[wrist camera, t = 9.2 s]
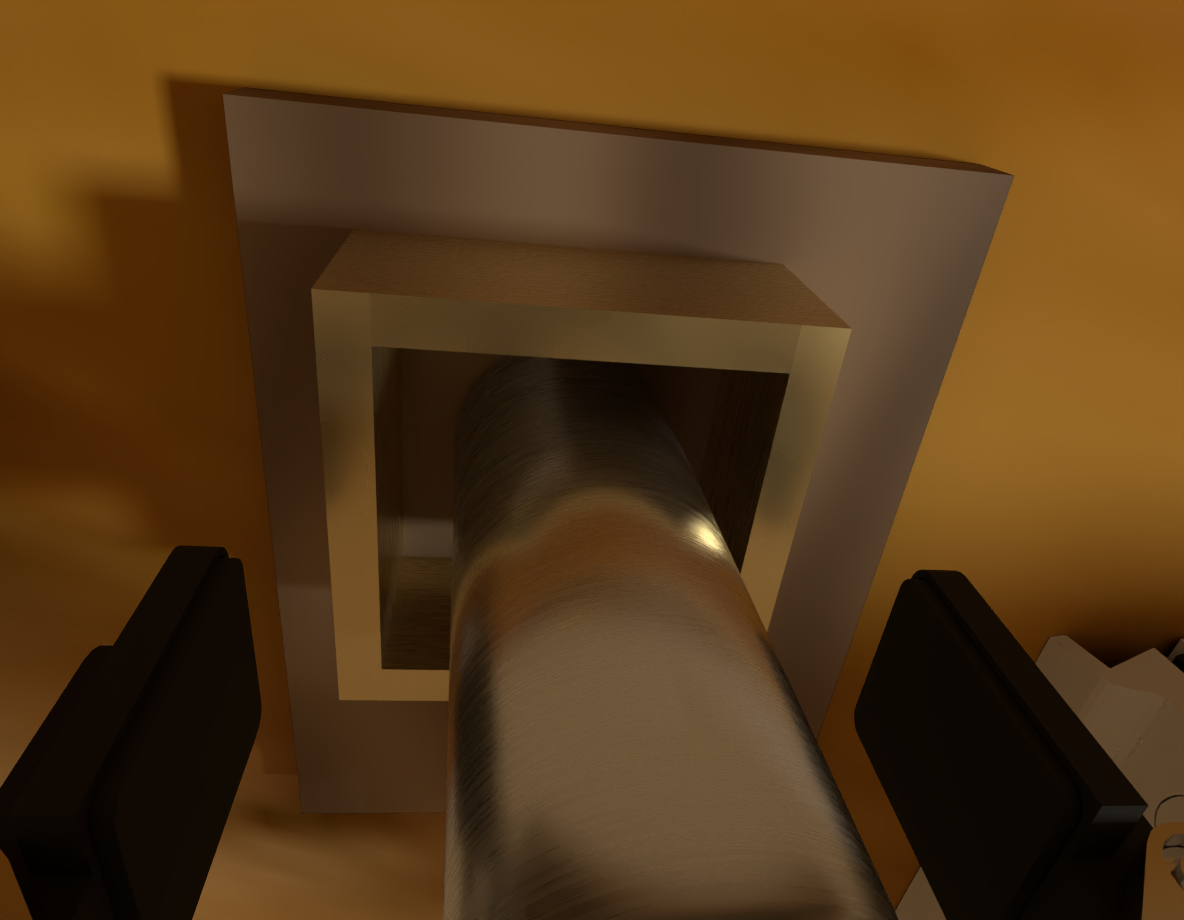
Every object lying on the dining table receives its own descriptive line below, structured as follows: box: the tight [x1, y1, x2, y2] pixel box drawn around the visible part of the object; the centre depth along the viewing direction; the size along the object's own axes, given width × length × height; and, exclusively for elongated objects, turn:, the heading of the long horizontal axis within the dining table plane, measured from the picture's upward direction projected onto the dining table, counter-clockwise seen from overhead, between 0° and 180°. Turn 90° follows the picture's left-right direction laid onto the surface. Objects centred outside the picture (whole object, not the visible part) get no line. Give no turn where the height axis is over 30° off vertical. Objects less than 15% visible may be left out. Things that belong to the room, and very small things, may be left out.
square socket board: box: [311, 229, 852, 701], centre depth 16 cm, size 8×16×7 cm, turn 174°
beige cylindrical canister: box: [443, 355, 899, 920], centre depth 12 cm, size 4×4×11 cm
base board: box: [223, 88, 1014, 814], centre depth 19 cm, size 14×18×1 cm
